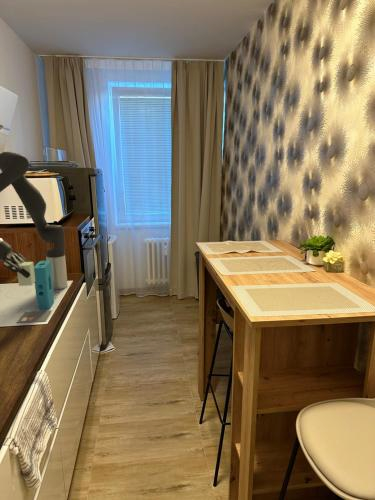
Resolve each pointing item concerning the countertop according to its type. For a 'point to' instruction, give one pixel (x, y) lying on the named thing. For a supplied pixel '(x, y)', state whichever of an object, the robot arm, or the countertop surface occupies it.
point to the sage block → (29, 268)
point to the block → (44, 285)
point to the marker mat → (34, 316)
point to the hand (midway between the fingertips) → (31, 274)
